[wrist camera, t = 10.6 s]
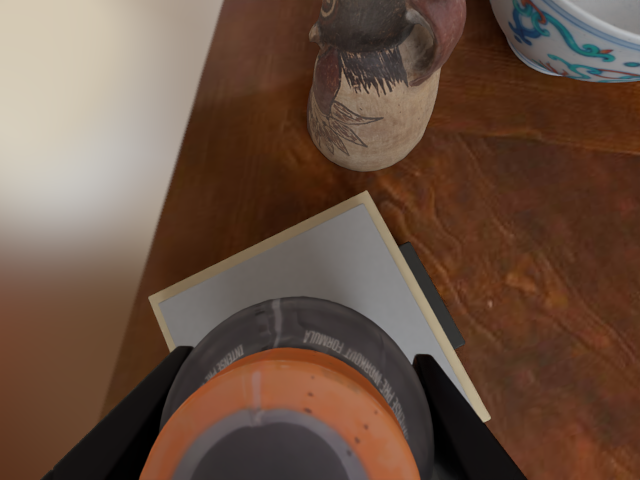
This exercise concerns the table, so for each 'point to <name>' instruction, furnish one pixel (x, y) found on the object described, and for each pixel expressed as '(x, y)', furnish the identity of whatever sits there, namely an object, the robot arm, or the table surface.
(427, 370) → the robot arm
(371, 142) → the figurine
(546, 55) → the chinaware
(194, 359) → the pill bottle
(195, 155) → the table surface
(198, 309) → the scale
